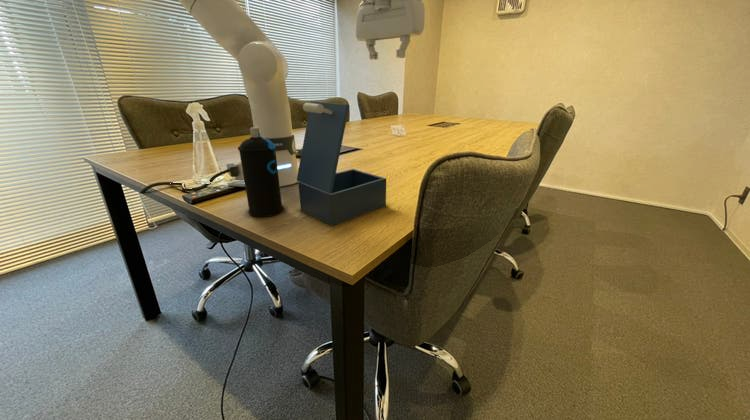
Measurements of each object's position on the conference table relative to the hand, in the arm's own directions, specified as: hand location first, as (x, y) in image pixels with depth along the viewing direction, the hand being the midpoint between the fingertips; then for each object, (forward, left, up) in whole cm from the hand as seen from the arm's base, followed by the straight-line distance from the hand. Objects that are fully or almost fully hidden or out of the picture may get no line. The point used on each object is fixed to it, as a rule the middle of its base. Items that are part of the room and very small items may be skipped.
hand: (386, 58), depth 78 cm
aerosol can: (-29, -19, -35) cm, 49 cm away
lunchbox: (-10, -16, -35) cm, 40 cm away
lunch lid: (-14, -20, -19) cm, 31 cm away
